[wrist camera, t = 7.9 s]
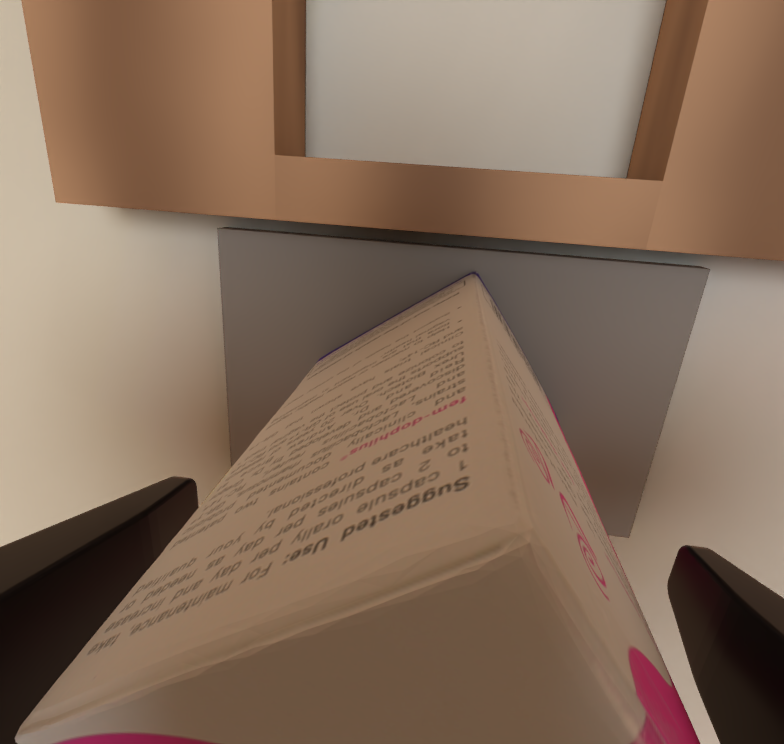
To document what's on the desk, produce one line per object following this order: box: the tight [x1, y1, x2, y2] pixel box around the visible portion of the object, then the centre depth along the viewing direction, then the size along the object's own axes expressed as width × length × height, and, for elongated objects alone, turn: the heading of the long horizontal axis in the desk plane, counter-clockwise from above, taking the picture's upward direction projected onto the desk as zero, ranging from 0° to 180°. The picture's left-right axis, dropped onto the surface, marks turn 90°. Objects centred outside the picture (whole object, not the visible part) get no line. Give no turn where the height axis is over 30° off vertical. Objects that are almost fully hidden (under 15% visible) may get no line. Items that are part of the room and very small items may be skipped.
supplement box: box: [15, 271, 700, 744], centre depth 10 cm, size 6×6×12 cm
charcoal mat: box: [217, 227, 710, 538], centre depth 15 cm, size 14×9×1 cm, turn 86°
